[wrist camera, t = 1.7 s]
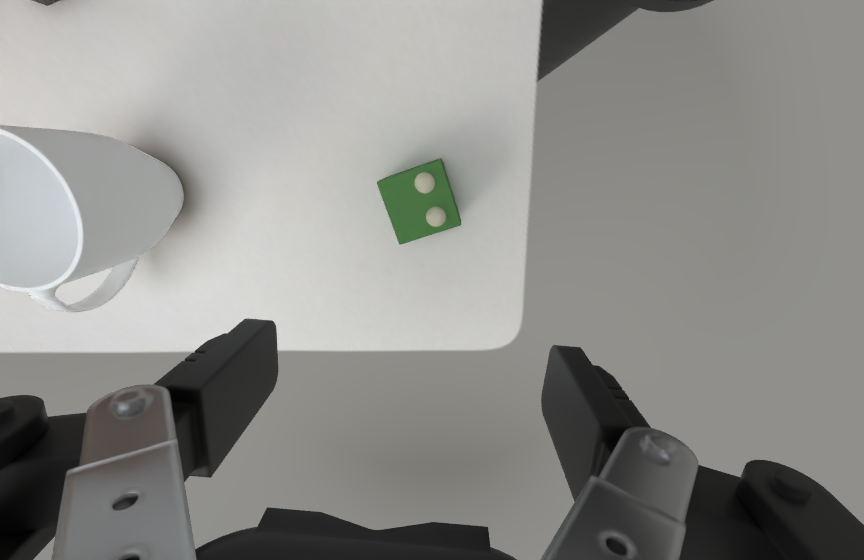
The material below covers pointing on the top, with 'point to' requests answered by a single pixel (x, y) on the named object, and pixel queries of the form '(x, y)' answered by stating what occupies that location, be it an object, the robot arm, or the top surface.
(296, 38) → the top surface
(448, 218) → the green cube with bumps
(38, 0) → the brownish metal block
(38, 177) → the mug
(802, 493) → the robot arm
